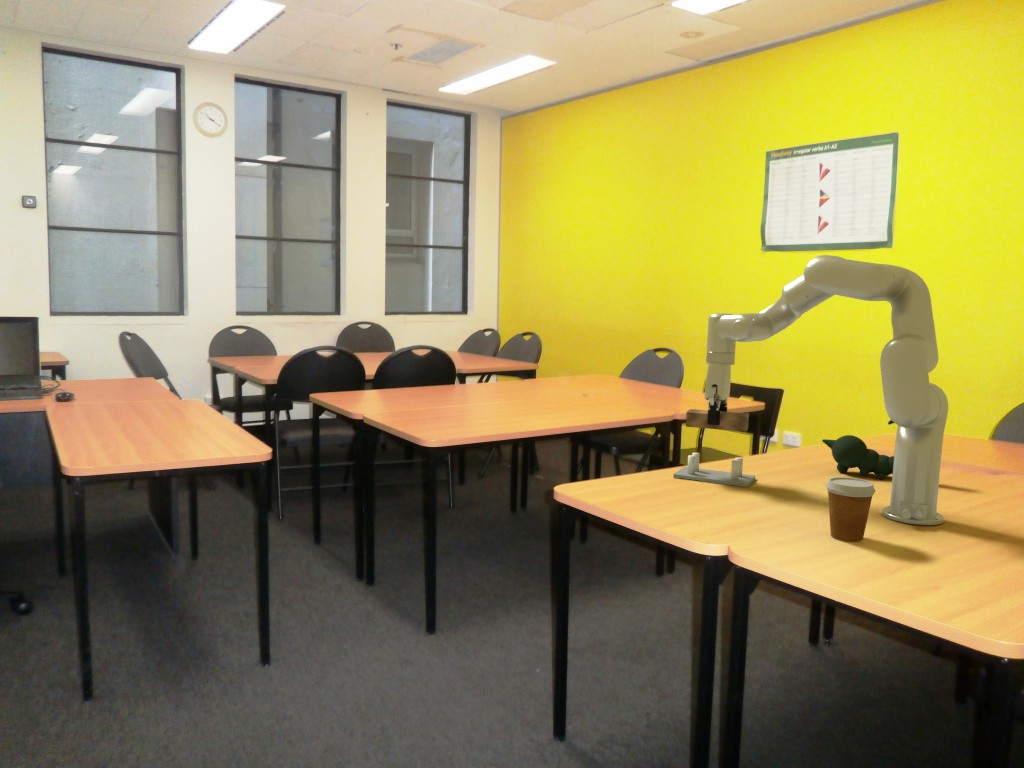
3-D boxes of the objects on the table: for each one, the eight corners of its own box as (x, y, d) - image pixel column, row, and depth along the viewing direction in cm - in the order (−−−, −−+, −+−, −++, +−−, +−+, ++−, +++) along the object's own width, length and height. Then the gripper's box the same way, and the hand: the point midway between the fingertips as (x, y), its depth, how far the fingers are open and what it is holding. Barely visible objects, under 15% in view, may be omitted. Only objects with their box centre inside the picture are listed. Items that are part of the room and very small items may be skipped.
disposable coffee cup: (848, 546, 155) (852, 489, 154) (812, 533, 164) (816, 478, 162) (881, 541, 159) (886, 485, 157) (845, 528, 167) (849, 475, 166)
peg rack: (747, 487, 202) (748, 465, 202) (673, 477, 212) (674, 456, 211) (755, 479, 212) (756, 457, 211) (684, 470, 221) (685, 449, 221)
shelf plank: (685, 426, 210) (686, 412, 209) (689, 422, 216) (689, 408, 216) (746, 431, 204) (747, 417, 204) (748, 427, 211) (748, 413, 210)
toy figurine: (912, 483, 217) (820, 464, 230) (924, 419, 214) (830, 403, 227) (909, 490, 209) (814, 470, 222) (922, 423, 206) (825, 406, 219)
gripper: (714, 355, 217) (711, 417, 219) (698, 360, 202) (695, 425, 204) (741, 357, 214) (737, 419, 216) (727, 361, 199) (723, 428, 201)
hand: (717, 422), depth 210 cm, fingers closed on shelf plank, 7 cm apart
